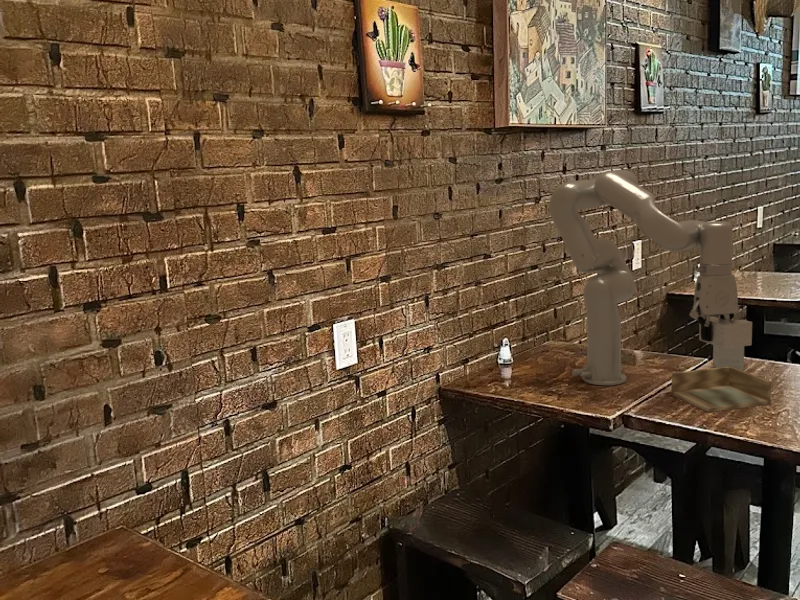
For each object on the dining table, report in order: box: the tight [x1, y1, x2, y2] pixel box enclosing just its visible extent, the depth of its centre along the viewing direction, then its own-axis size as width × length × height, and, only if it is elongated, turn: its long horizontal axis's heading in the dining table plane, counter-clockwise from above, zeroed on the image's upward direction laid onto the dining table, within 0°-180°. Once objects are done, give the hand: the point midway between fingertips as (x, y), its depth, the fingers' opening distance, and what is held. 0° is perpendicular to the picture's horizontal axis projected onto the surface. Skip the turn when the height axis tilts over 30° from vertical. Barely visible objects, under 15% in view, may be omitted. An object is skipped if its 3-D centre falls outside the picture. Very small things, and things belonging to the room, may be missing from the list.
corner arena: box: [671, 366, 772, 413], centre depth 189 cm, size 18×16×6 cm
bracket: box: [698, 316, 753, 348], centre depth 184 cm, size 10×8×6 cm
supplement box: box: [712, 345, 745, 371], centre depth 216 cm, size 7×7×13 cm
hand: (714, 338), depth 186 cm, fingers closed on bracket, 4 cm apart
